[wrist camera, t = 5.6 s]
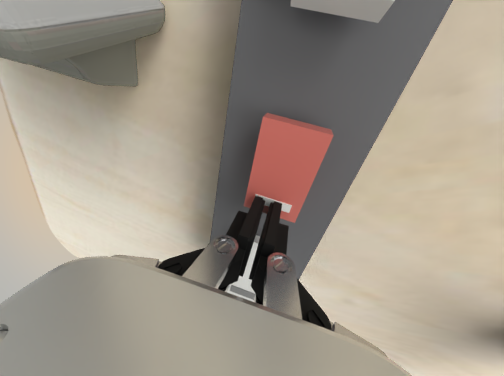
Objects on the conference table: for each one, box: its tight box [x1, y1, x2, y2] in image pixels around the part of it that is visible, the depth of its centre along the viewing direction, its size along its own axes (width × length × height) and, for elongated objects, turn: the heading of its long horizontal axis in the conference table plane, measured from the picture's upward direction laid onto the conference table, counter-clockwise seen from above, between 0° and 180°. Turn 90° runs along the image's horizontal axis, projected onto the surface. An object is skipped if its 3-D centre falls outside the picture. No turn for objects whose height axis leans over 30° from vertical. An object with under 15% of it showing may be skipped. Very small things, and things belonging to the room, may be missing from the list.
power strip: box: [210, 0, 453, 280], centre depth 13 cm, size 40×9×5 cm, turn 168°
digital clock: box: [0, 0, 165, 86], centre depth 12 cm, size 16×9×11 cm, turn 65°
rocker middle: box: [244, 113, 334, 223], centre depth 11 cm, size 6×4×1 cm, turn 168°
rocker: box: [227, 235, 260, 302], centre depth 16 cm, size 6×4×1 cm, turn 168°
